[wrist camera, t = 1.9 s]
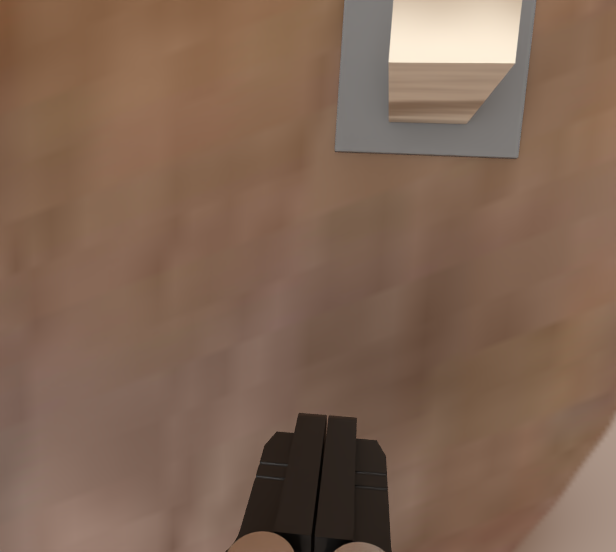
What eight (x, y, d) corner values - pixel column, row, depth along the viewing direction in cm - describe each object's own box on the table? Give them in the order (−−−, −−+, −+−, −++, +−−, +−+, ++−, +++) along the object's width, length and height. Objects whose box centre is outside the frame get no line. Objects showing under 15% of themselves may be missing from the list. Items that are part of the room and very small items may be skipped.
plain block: (466, 124, 30) (515, 63, 19) (388, 121, 31) (388, 62, 19) (474, 43, 30) (530, -73, 18) (394, 43, 30) (398, -69, 19)
